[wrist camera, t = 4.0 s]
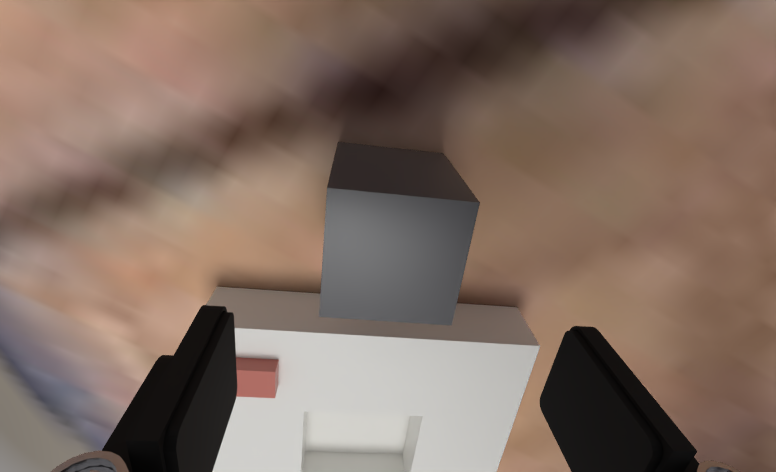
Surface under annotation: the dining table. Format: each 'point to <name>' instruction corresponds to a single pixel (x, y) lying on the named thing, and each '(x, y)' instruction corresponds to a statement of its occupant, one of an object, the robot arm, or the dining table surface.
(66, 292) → the dining table surface
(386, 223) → the plug
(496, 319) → the socket
